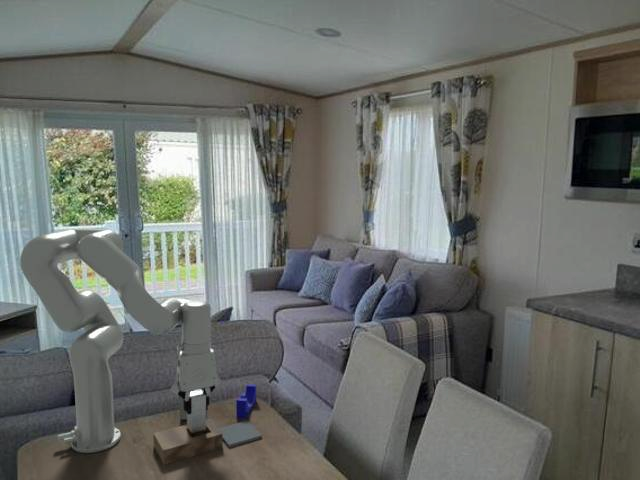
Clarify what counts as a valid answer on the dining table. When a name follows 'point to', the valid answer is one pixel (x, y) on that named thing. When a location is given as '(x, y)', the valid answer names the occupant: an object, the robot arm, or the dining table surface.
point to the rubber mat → (239, 433)
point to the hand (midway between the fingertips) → (196, 409)
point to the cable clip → (246, 401)
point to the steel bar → (197, 412)
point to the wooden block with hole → (186, 442)
